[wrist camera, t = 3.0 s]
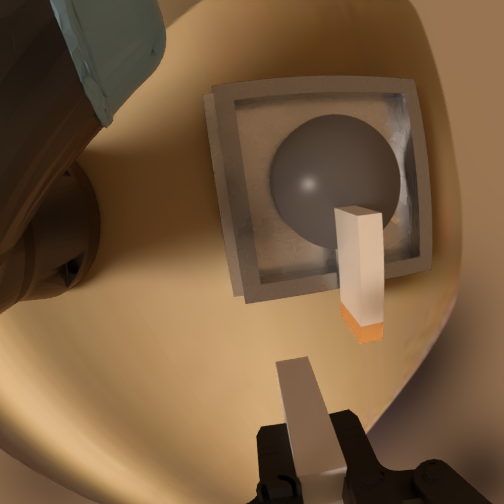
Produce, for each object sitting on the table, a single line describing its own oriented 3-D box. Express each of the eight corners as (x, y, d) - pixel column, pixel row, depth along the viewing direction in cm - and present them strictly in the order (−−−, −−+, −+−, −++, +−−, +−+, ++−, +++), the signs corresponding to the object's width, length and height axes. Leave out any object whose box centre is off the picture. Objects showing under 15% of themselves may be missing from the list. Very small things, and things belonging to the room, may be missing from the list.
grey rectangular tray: (234, 292, 28) (233, 305, 26) (203, 97, 24) (199, 88, 21) (423, 259, 29) (439, 267, 26) (407, 87, 24) (422, 80, 21)
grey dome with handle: (261, 124, 24) (270, 104, 17) (380, 117, 24) (423, 102, 17) (286, 313, 28) (300, 356, 21) (392, 293, 28) (430, 324, 21)
